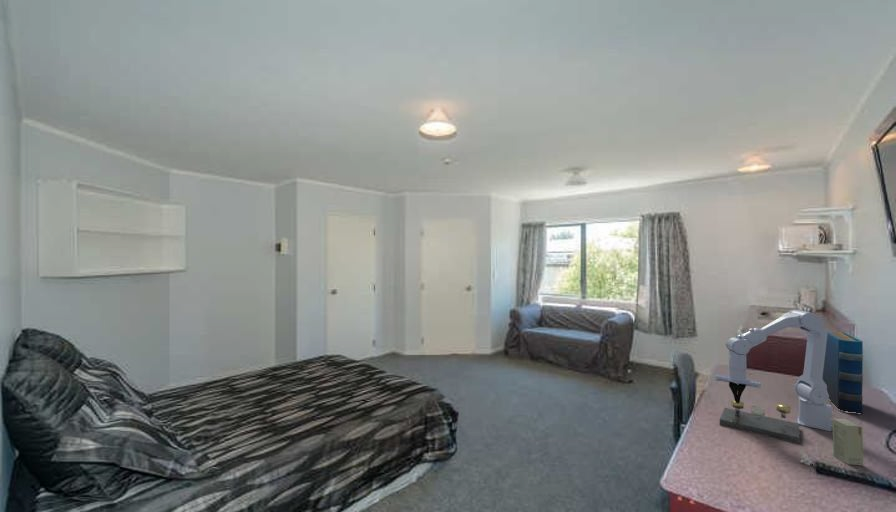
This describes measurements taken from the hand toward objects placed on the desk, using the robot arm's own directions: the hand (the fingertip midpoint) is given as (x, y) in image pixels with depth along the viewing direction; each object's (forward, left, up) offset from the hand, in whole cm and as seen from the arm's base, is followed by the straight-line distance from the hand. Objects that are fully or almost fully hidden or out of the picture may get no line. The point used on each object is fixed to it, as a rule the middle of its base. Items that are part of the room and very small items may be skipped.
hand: (737, 401), depth 157 cm
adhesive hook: (-21, +28, -7) cm, 36 cm away
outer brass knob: (0, 0, -4) cm, 4 cm away
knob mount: (-7, +4, -7) cm, 10 cm away
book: (-33, -48, -7) cm, 59 cm away
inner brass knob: (-14, 0, -2) cm, 14 cm away
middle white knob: (-7, +9, -2) cm, 12 cm away
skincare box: (-30, +16, -7) cm, 35 cm away
